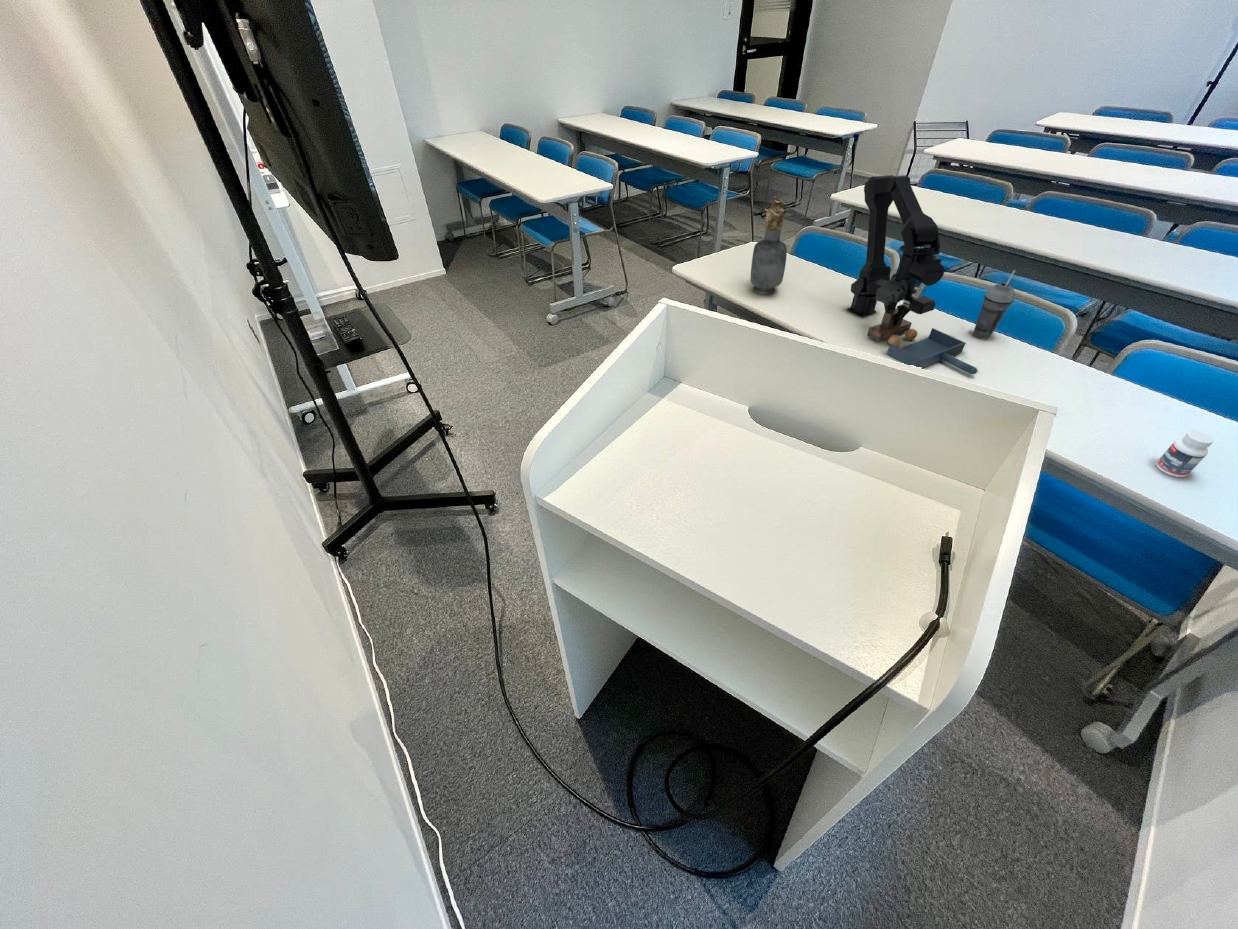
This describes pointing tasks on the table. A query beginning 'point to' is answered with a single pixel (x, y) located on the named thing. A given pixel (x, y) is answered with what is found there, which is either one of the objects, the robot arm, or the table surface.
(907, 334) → the brown rounded piece
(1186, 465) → the pill bottle
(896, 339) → the light brown ball
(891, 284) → the robot arm
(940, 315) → the table surface
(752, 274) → the grey tall bottle-shaped piece
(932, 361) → the dustpan
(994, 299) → the beverage cup
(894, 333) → the brush
